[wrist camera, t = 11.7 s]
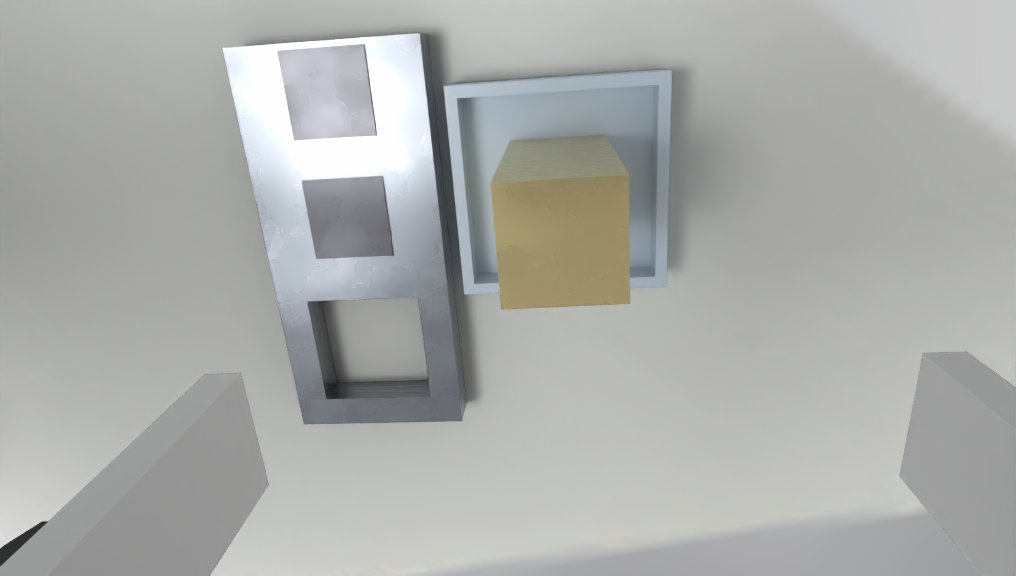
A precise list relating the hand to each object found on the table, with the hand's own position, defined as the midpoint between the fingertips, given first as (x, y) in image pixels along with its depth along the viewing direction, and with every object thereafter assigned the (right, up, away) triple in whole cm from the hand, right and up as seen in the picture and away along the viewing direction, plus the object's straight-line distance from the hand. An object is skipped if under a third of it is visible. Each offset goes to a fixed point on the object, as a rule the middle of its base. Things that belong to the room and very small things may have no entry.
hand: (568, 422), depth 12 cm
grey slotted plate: (-10, +5, +24) cm, 26 cm away
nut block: (+2, +8, +21) cm, 23 cm away
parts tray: (+2, +9, +22) cm, 24 cm away
